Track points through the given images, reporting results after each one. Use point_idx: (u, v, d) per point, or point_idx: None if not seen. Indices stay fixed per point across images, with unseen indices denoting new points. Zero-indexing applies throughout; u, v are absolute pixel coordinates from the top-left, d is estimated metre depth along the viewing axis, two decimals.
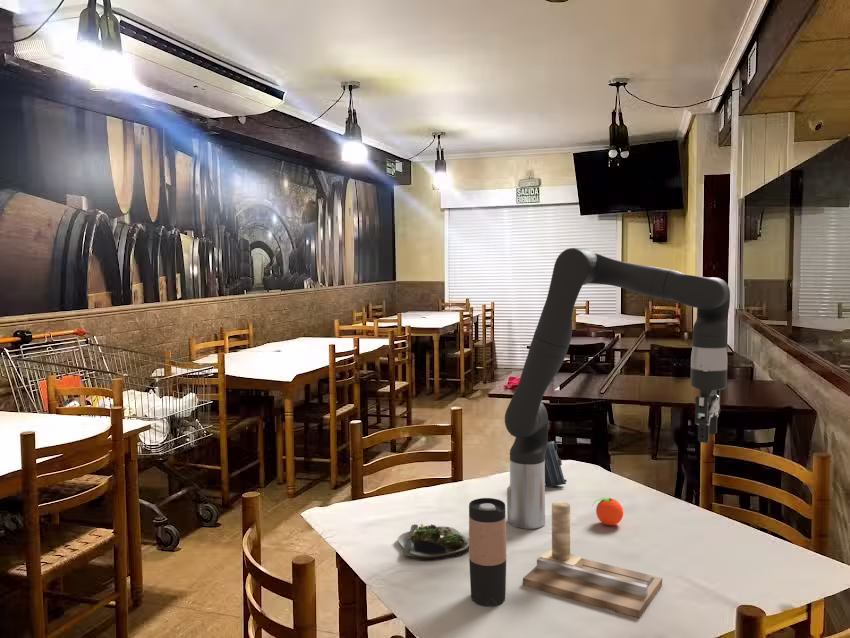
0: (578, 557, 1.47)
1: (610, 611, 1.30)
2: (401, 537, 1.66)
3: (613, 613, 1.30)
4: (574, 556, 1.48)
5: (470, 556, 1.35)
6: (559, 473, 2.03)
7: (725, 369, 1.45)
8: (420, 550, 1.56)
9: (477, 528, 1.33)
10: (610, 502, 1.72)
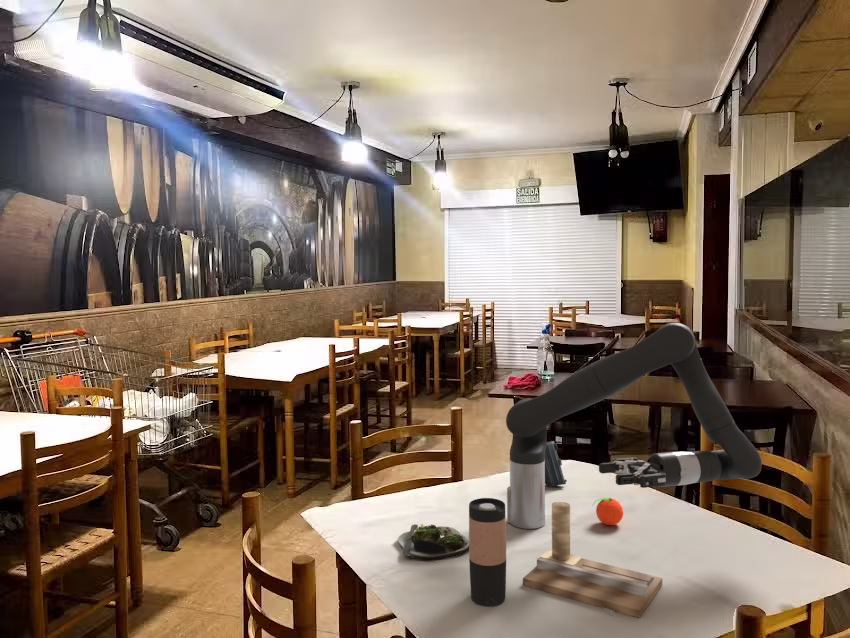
0: (578, 557, 1.47)
1: (610, 611, 1.30)
2: (401, 537, 1.66)
3: (613, 613, 1.30)
4: (574, 556, 1.48)
5: (470, 556, 1.35)
6: (559, 473, 2.03)
7: None
8: (420, 550, 1.56)
9: (477, 528, 1.33)
10: (610, 502, 1.72)
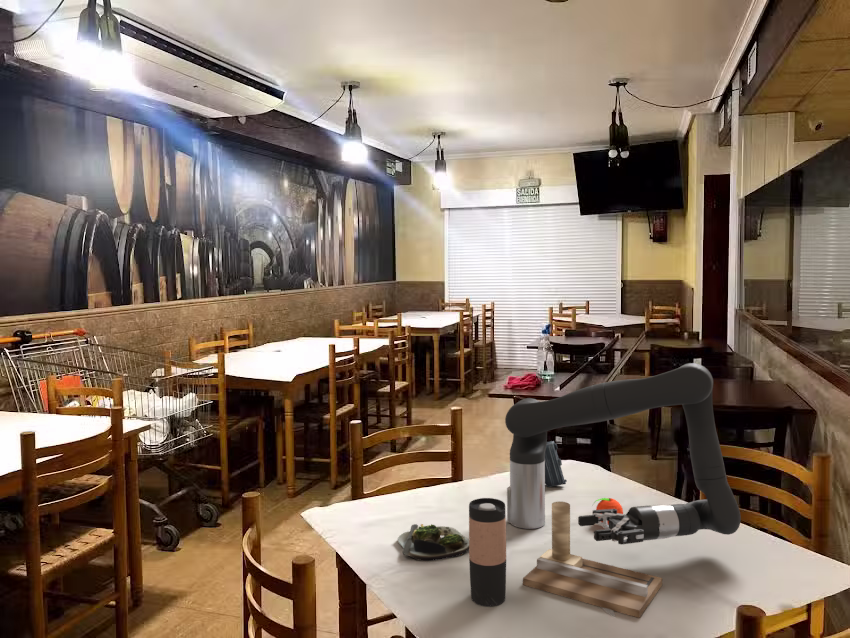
0: (578, 557, 1.47)
1: (609, 611, 1.31)
2: (401, 536, 1.66)
3: (612, 613, 1.30)
4: (574, 556, 1.48)
5: (470, 556, 1.35)
6: (559, 473, 2.03)
7: None
8: (420, 550, 1.56)
9: (477, 528, 1.33)
10: (610, 502, 1.72)
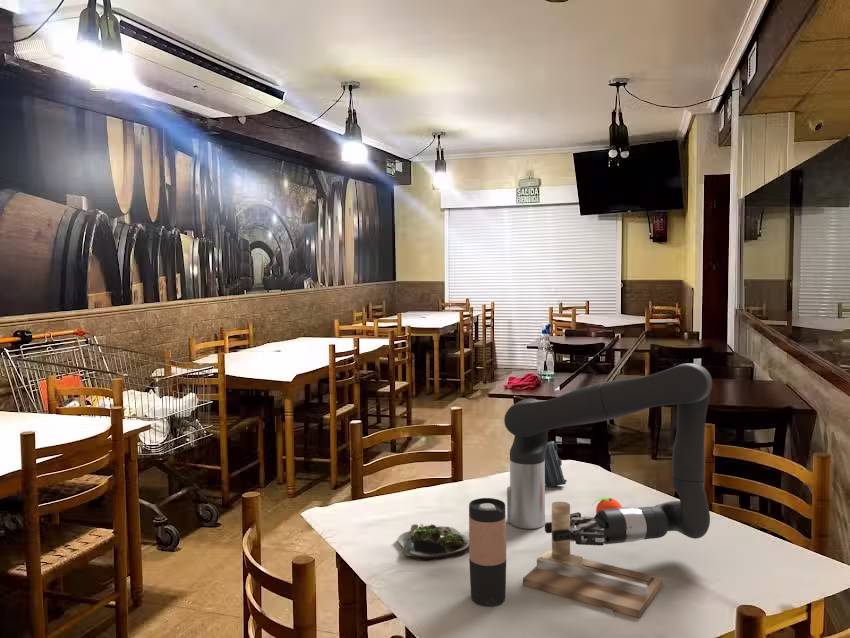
0: (578, 557, 1.47)
1: (608, 611, 1.31)
2: (401, 536, 1.66)
3: (611, 613, 1.30)
4: (574, 556, 1.48)
5: (470, 556, 1.35)
6: (559, 473, 2.03)
7: None
8: (420, 550, 1.56)
9: (477, 528, 1.33)
10: (610, 502, 1.72)
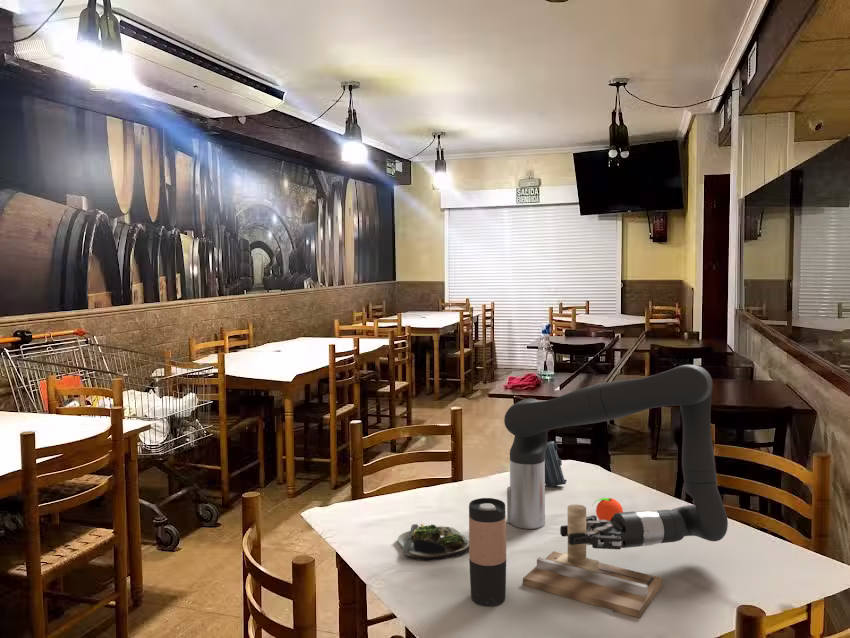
0: (594, 561, 1.45)
1: (608, 611, 1.31)
2: (401, 536, 1.66)
3: (611, 613, 1.30)
4: (590, 560, 1.46)
5: (470, 556, 1.35)
6: (559, 473, 2.03)
7: None
8: (420, 550, 1.56)
9: (477, 528, 1.33)
10: (610, 502, 1.72)
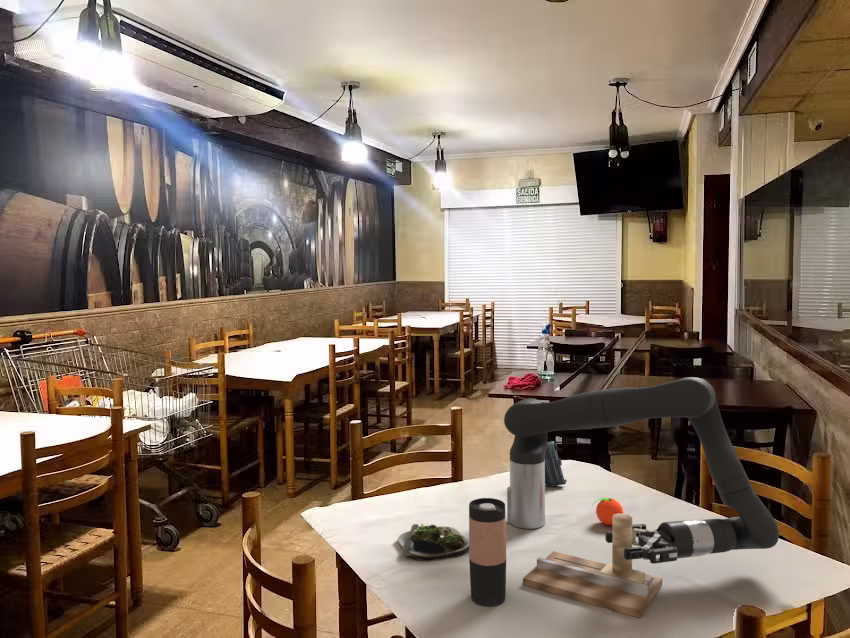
0: (640, 572, 1.39)
1: (607, 611, 1.31)
2: (401, 536, 1.66)
3: (610, 613, 1.30)
4: (636, 571, 1.40)
5: (470, 556, 1.35)
6: (559, 473, 2.03)
7: None
8: (419, 550, 1.56)
9: (477, 528, 1.33)
10: (610, 502, 1.72)
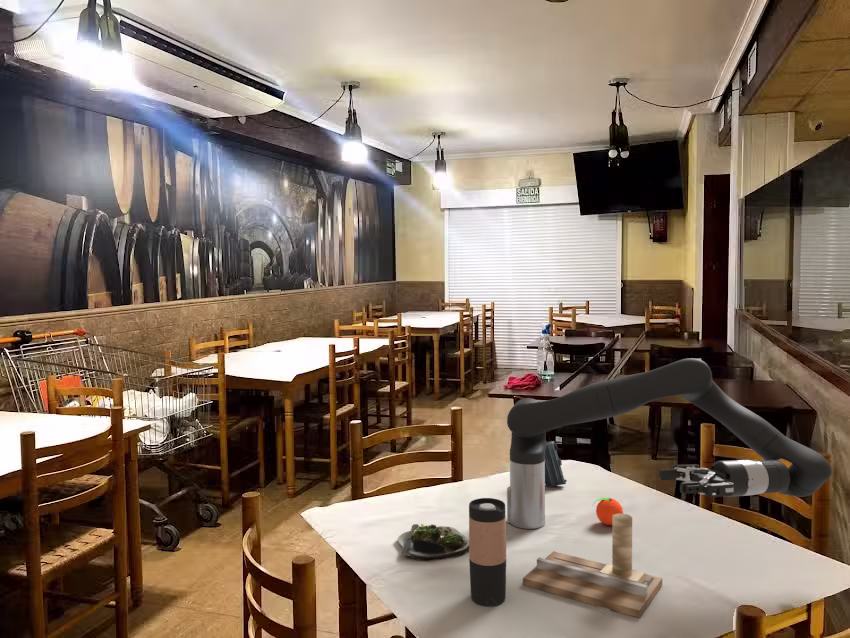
0: (640, 572, 1.39)
1: (606, 611, 1.31)
2: (401, 536, 1.66)
3: (609, 613, 1.30)
4: (636, 571, 1.40)
5: (470, 556, 1.35)
6: (559, 473, 2.03)
7: None
8: (419, 550, 1.56)
9: (477, 528, 1.33)
10: (610, 502, 1.72)
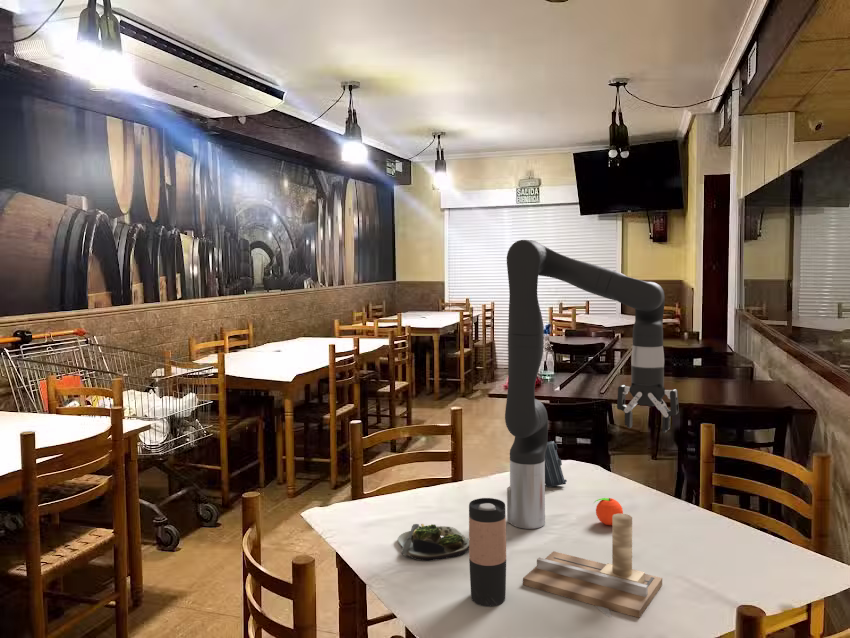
0: (640, 572, 1.39)
1: (605, 611, 1.31)
2: (401, 536, 1.66)
3: (608, 613, 1.30)
4: (636, 571, 1.40)
5: (470, 556, 1.35)
6: (559, 473, 2.03)
7: None
8: (419, 550, 1.56)
9: (477, 528, 1.33)
10: (610, 502, 1.72)
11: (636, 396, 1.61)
